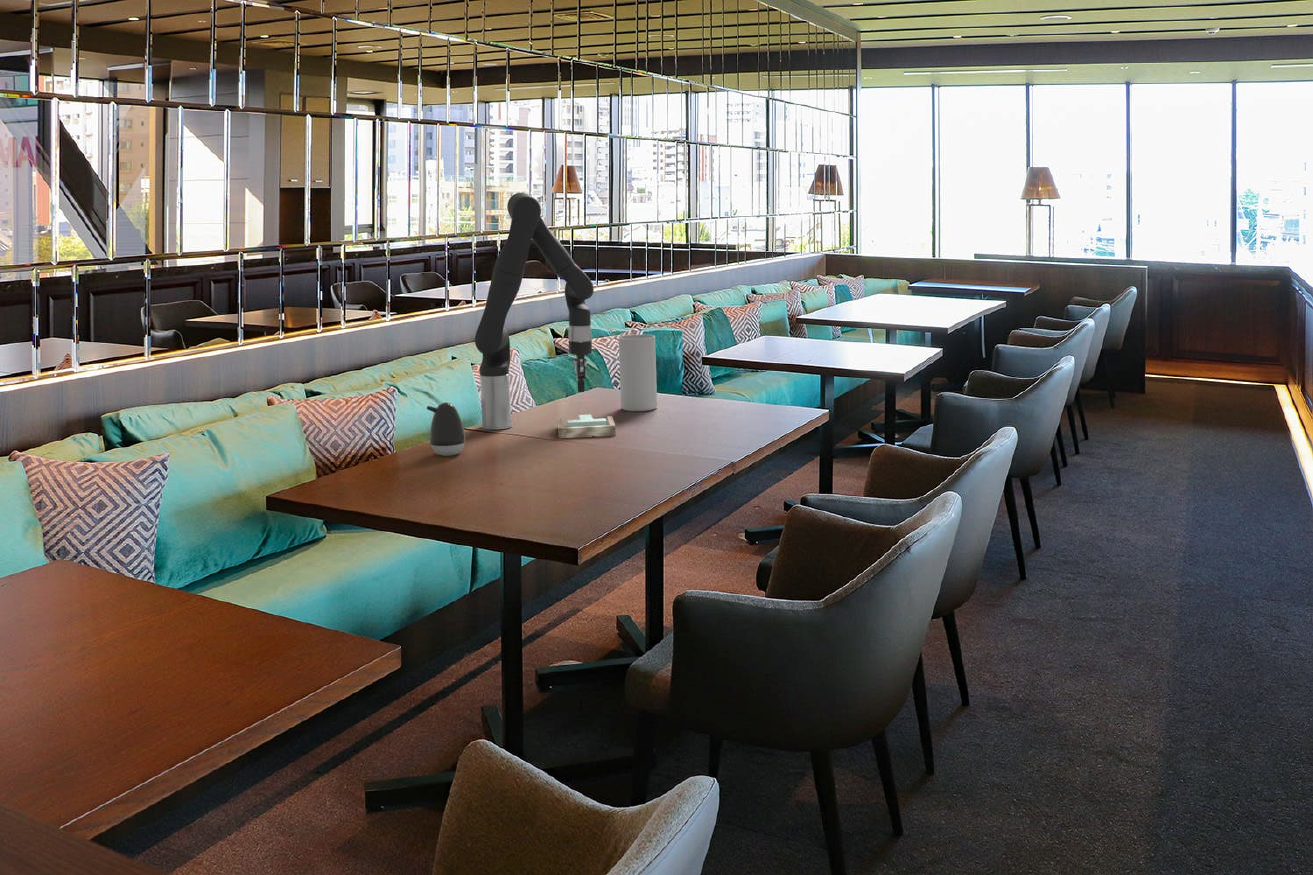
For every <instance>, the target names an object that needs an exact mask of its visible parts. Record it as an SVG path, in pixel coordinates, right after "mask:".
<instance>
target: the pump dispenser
mask: <svg viewBox="0 0 1313 875" xmlns="http://www.w3.org/2000/svg"><path fill="white" fill-rule="evenodd" d="M426 410H427V411H430V412H432V413H433V416H432V419H431V423H430V427H429V444H430V445H431V446H430V447H431V449H432V450H433V452H434V453H436V454H437V455H438V456H441V455H442V457H451V456H452V455H453V456H457V455H458V454H459V453H461V452H462V451H463V450H464V446H465V442H466V433H465V429H464V428H465V427H464V424H463V421H462V418H461V417H460V414H459V413H458V410H457V408H456V407H455V406H454V404H452V403H450V402H442V403H440V404H438V405H437V407H434V406H430V405H427V406H426Z"/></svg>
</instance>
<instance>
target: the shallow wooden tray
mask: <svg viewBox="0 0 1313 875" xmlns="http://www.w3.org/2000/svg"><path fill="white" fill-rule="evenodd" d="M606 420H607V425H604V426H583V427H568V426H567V427H564V423H563V418H561V417H560V418H557V434H558V438H559V439H567V438H568V439H569V438H573V439H574V438H590V437H592V436H595V437H610V436H611V437H612V436H616V424H615V421H614V419H613V416H612V415H608V416H606ZM592 438H593V437H592Z"/></svg>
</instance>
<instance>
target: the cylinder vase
mask: <svg viewBox="0 0 1313 875" xmlns="http://www.w3.org/2000/svg"><path fill="white" fill-rule="evenodd" d="M618 354H619V356H618V359H619V360H618V361H619V362H618V363H619V382H620V383H619V384H620V385H619V387H620V390H619V391H620V393H619V394H620V408H621V410H623V411H626V412H648V411H649V412H650V411H653V410H656V409H657V407H658V396H657V395H658V394H657V392H658V390H657V360H656V359H657V357H656V355H657V354H656V336H655V335H652V334H626V335H620V336H619V337H618Z"/></svg>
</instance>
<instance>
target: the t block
mask: <svg viewBox="0 0 1313 875" xmlns="http://www.w3.org/2000/svg"><path fill="white" fill-rule="evenodd" d="M566 424H567V427H583V426H604V425H607V417H604V418H593V416H592V414H591V413H590V414H579V415H578V419H568V420H567V423H566Z"/></svg>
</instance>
